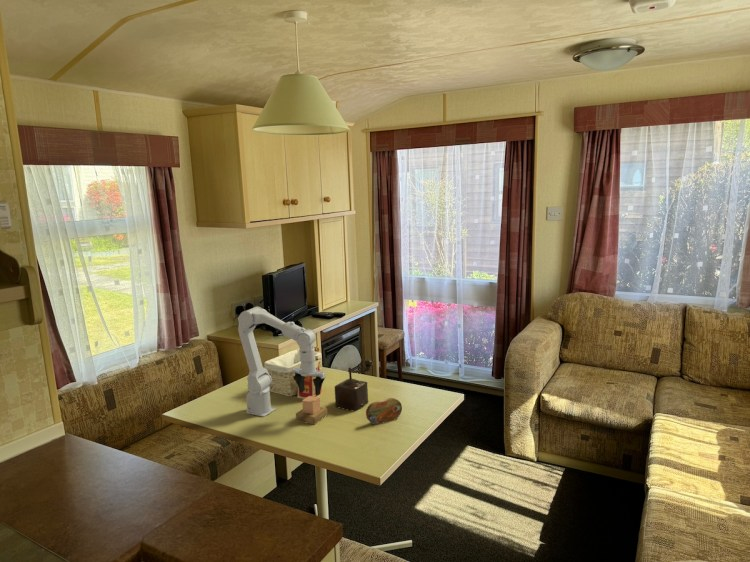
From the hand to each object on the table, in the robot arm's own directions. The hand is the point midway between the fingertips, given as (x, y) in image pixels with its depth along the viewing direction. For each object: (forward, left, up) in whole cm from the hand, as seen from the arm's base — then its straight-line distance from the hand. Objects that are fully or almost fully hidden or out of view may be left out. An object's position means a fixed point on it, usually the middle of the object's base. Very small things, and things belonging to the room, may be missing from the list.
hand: (310, 393), depth 207 cm
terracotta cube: (0, 0, -7) cm, 7 cm away
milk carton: (-14, +20, -11) cm, 26 cm away
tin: (+28, +9, -11) cm, 32 cm away
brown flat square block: (0, 0, -10) cm, 10 cm away
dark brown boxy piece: (+9, +20, -11) cm, 24 cm away
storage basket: (-27, +26, -11) cm, 39 cm away
